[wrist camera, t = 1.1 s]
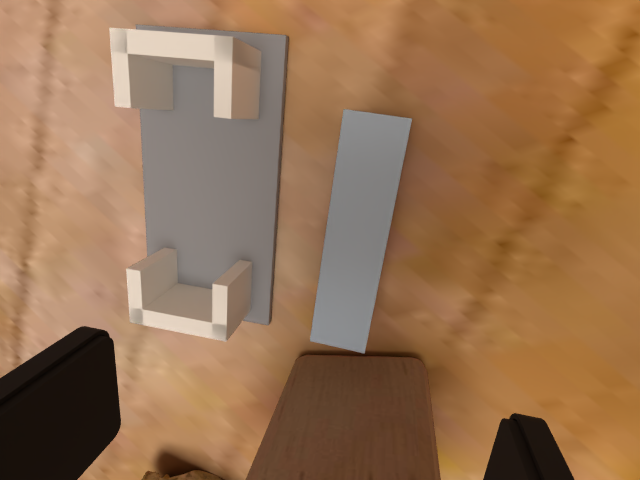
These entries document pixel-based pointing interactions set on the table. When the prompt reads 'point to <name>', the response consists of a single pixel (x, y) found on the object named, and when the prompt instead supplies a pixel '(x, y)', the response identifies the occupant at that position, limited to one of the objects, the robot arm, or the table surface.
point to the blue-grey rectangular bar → (358, 226)
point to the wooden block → (351, 422)
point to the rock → (182, 476)
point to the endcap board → (204, 172)
